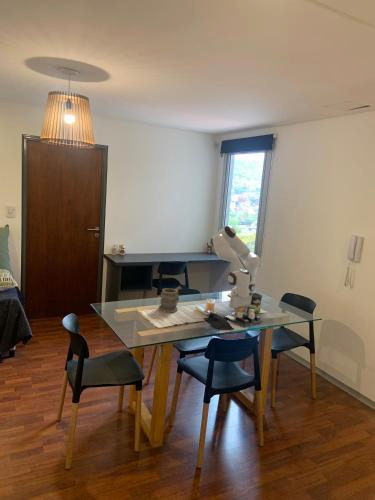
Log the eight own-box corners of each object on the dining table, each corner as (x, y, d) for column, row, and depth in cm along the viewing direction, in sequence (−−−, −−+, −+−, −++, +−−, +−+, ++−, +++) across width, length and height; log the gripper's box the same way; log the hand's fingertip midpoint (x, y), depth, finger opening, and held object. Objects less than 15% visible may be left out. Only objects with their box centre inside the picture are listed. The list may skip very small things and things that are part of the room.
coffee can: (262, 315, 266) (264, 297, 264) (250, 316, 262) (252, 297, 260) (254, 310, 276) (257, 292, 273) (242, 311, 272) (245, 292, 269)
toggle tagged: (248, 317, 247) (249, 312, 246) (250, 316, 248) (251, 312, 248) (252, 318, 244) (252, 314, 244) (254, 318, 246) (254, 313, 246)
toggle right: (248, 313, 255) (249, 309, 254) (250, 312, 256) (251, 308, 256) (251, 314, 253) (252, 310, 252) (254, 314, 254) (254, 310, 254)
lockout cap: (239, 316, 251) (240, 308, 250) (234, 314, 254) (235, 306, 253) (242, 315, 254) (244, 307, 253) (238, 313, 257) (239, 305, 256)
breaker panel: (224, 319, 251) (224, 313, 250) (242, 314, 265) (242, 308, 264) (243, 327, 239) (244, 321, 238) (261, 322, 253) (262, 316, 252)
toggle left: (236, 316, 246) (237, 312, 245) (238, 316, 247) (239, 311, 247) (240, 318, 243) (240, 313, 243) (242, 317, 245) (242, 313, 245)
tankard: (169, 314, 250) (171, 293, 247) (155, 308, 257) (157, 288, 254) (186, 308, 265) (188, 288, 263) (173, 303, 273) (175, 283, 270)
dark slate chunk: (213, 331, 229) (214, 324, 228) (202, 318, 250) (203, 311, 249) (236, 331, 234) (236, 324, 233) (223, 318, 254) (224, 311, 253)
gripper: (235, 296, 242) (232, 316, 244) (254, 292, 256) (251, 311, 258) (228, 293, 246) (225, 313, 249) (246, 290, 260) (244, 308, 263)
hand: (239, 312), depth 254 cm, fingers closed on lockout cap, 4 cm apart
